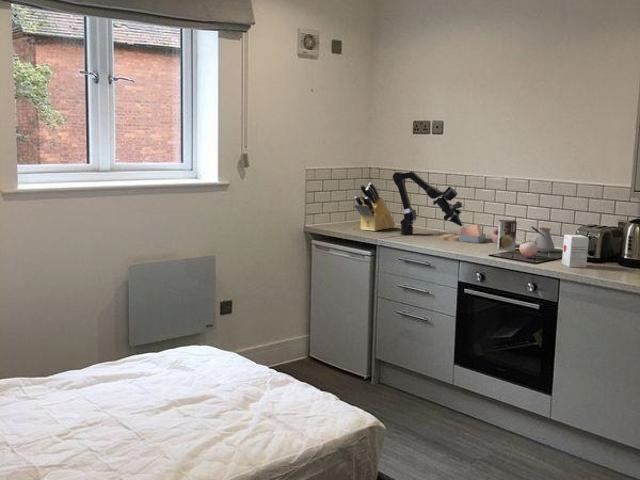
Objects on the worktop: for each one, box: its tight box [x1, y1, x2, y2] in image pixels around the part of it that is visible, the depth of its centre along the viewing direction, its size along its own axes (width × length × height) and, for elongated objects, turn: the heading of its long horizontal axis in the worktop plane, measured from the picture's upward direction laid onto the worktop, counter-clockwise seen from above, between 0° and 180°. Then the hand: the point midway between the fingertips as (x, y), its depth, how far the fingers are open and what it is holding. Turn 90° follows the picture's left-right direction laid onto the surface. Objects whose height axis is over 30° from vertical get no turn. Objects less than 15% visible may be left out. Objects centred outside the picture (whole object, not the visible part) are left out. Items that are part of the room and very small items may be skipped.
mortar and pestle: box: [491, 227, 498, 245], centre depth 410 cm, size 12×12×12 cm
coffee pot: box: [528, 226, 555, 253], centre depth 389 cm, size 21×12×15 cm, turn 135°
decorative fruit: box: [519, 239, 538, 259], centre depth 369 cm, size 9×8×10 cm
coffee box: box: [496, 219, 518, 251], centre depth 397 cm, size 9×6×16 cm
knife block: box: [354, 182, 396, 232], centre depth 459 cm, size 11×35×31 cm, turn 144°
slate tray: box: [458, 233, 486, 244], centre depth 425 cm, size 12×14×4 cm
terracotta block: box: [460, 223, 484, 236], centre depth 424 cm, size 7×7×10 cm
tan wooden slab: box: [438, 233, 460, 242], centre depth 430 cm, size 12×14×2 cm
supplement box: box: [561, 234, 590, 268], centre depth 351 cm, size 9×9×15 cm
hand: (461, 225), depth 427 cm, fingers closed
